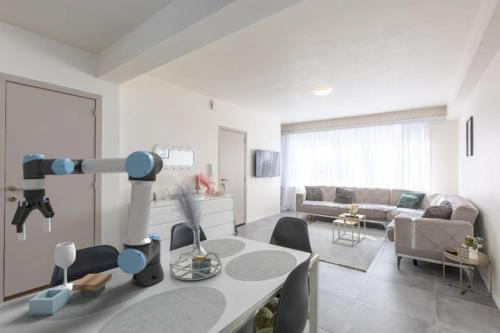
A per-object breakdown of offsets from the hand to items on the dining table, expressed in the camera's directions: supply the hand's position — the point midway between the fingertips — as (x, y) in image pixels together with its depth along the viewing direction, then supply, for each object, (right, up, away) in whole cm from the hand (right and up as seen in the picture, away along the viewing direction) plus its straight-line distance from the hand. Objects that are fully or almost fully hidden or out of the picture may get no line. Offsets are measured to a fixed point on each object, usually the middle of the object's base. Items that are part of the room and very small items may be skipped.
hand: (35, 235), depth 112 cm
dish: (+16, -26, -11) cm, 33 cm away
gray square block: (+26, -26, +1) cm, 37 cm away
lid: (+26, -22, +1) cm, 34 cm away
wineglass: (+10, -27, +5) cm, 29 cm away
